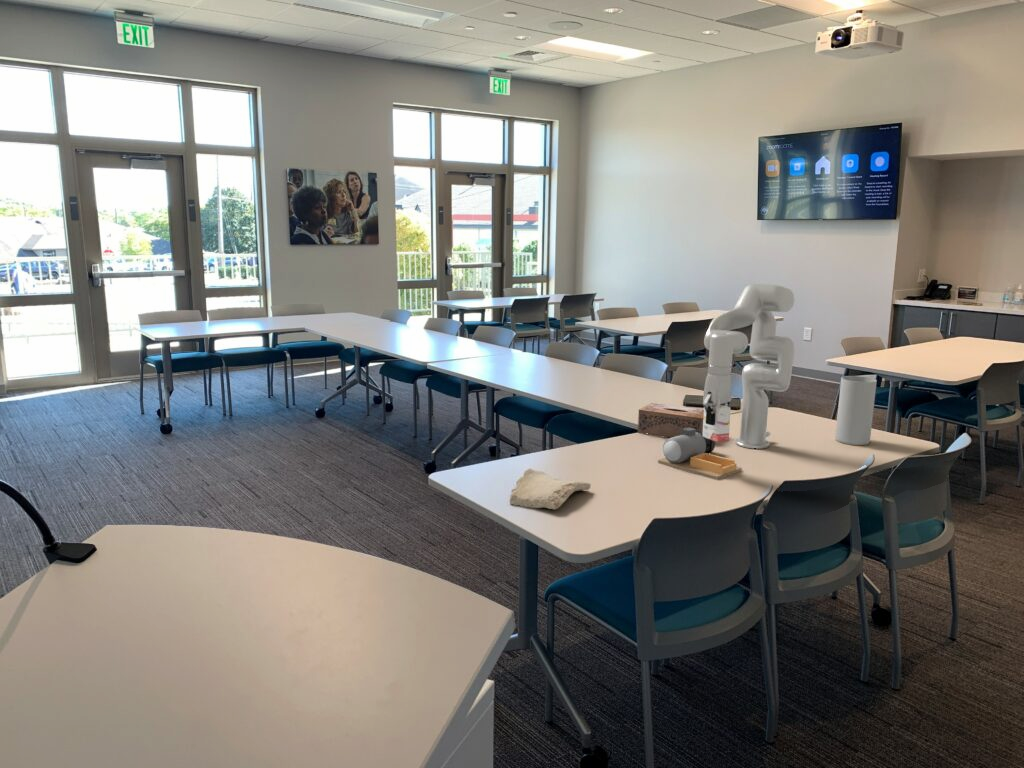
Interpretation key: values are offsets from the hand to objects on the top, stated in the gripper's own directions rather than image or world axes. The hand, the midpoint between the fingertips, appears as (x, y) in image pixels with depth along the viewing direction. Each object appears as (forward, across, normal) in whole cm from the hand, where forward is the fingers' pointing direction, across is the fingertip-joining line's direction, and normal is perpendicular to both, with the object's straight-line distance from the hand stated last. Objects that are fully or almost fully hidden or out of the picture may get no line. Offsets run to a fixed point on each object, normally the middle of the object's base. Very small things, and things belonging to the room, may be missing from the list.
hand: (716, 422), depth 255 cm
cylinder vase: (+17, -75, +14) cm, 78 cm away
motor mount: (+17, 0, -6) cm, 18 cm away
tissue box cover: (+17, -30, -38) cm, 51 cm away
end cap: (+17, -16, -16) cm, 29 cm away
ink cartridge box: (+6, 0, 0) cm, 6 cm away
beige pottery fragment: (+18, +62, -18) cm, 67 cm away
